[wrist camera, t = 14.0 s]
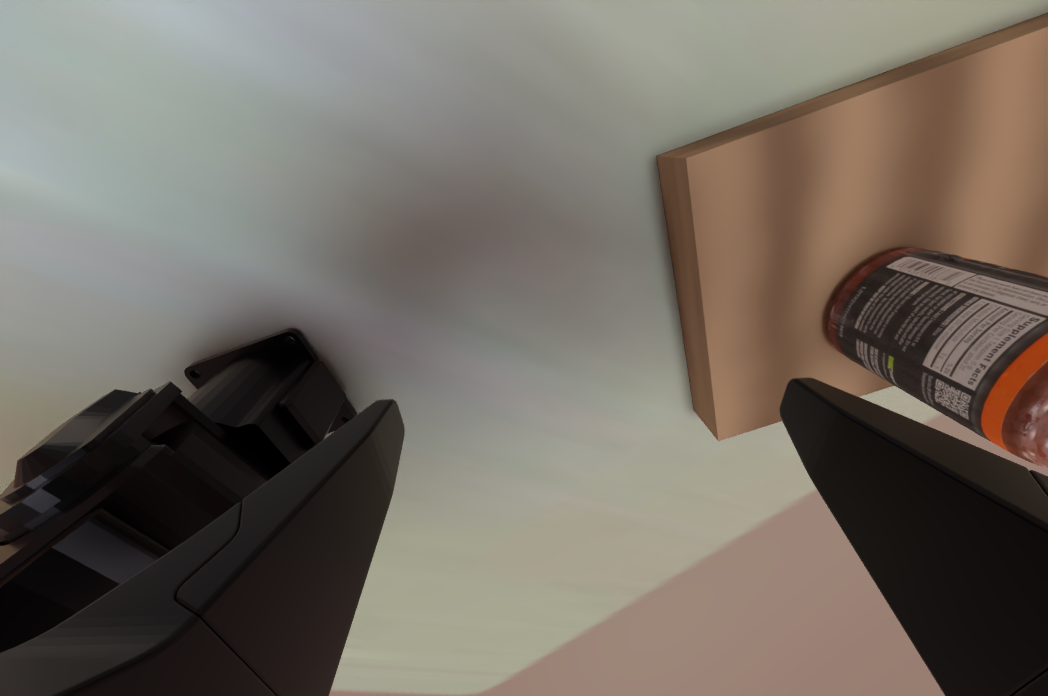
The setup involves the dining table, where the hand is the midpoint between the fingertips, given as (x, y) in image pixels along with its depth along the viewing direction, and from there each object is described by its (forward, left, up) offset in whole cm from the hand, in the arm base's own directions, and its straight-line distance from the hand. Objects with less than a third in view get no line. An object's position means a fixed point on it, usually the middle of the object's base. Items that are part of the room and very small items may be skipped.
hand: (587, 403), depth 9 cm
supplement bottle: (+16, -7, -10) cm, 20 cm away
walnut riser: (+17, -5, -13) cm, 22 cm away
